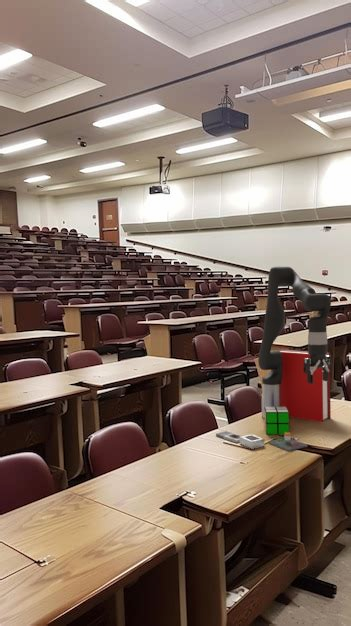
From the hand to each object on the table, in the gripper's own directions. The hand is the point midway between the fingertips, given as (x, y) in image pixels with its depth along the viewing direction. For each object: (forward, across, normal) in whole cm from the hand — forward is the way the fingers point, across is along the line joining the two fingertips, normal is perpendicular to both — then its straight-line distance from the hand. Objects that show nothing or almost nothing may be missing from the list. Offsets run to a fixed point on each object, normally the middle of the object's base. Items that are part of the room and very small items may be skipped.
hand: (318, 382), depth 197 cm
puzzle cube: (+26, +3, -22) cm, 33 cm away
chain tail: (+25, +25, -26) cm, 44 cm away
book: (+26, -24, -34) cm, 49 cm away
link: (+25, +24, -13) cm, 37 cm away
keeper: (+25, +13, -5) cm, 28 cm away
